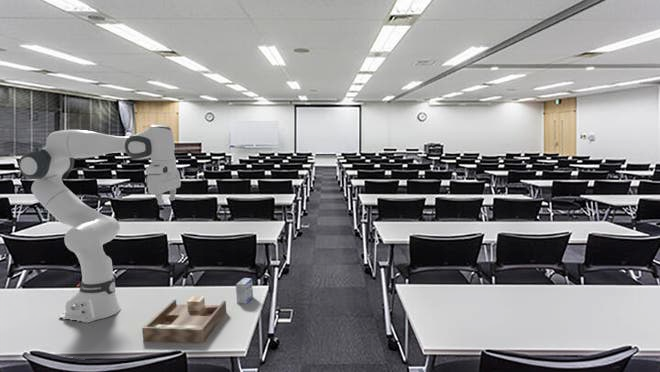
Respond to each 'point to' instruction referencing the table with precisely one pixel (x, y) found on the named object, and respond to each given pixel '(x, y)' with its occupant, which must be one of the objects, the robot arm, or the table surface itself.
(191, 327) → the box
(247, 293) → the medicine box
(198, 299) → the block
